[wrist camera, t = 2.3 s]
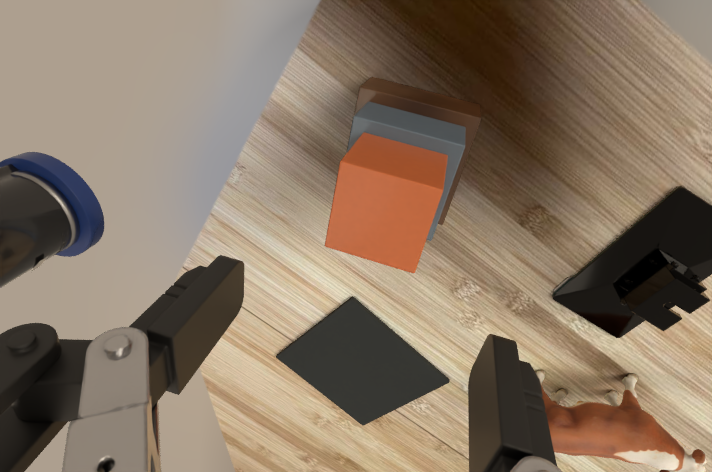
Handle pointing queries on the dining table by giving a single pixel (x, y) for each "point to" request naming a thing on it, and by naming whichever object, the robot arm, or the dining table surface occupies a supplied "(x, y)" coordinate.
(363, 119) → the middle block
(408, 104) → the base block
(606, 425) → the bull figurine
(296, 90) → the dining table surface
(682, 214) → the build plate
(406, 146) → the top block
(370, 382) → the mat
